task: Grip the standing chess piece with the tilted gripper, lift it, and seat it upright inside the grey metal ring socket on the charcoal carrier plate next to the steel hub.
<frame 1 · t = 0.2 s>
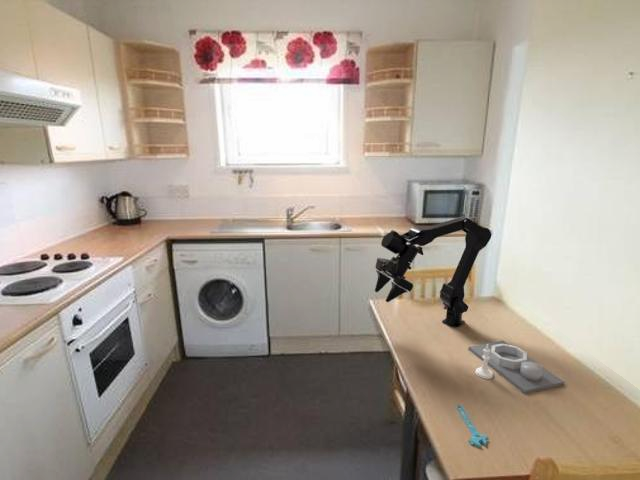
hand: (381, 296, 132), 15 cm above the table, tool tilted 35°, fingers open, 9 cm apart
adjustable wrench: (469, 426, 91), on the table
chess piece: (484, 374, 111), on the table
snack package: (448, 305, 161), on the table
carrier plate: (507, 362, 117), on the table
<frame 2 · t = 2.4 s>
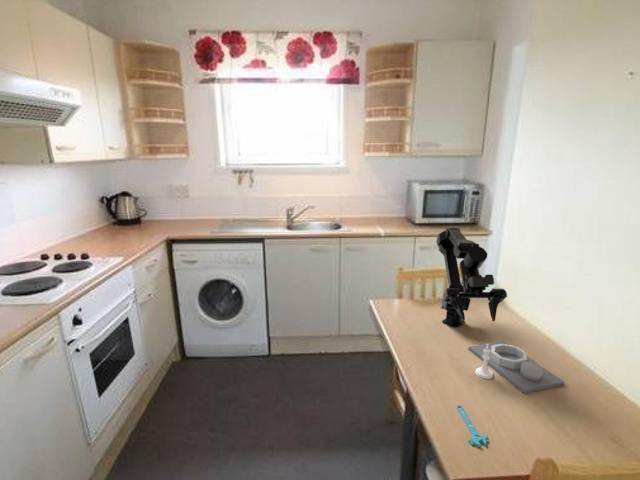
hand: (478, 320, 116), 14 cm above the table, tool tilted 45°, fingers open, 9 cm apart
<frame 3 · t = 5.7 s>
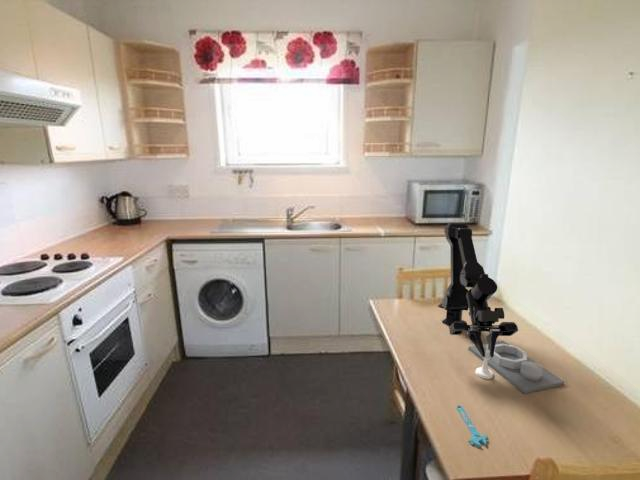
hand: (488, 357, 108), 7 cm above the table, tool tilted 45°, fingers closed on chess piece
chess piece: (484, 374, 111), on the table, touching gripper
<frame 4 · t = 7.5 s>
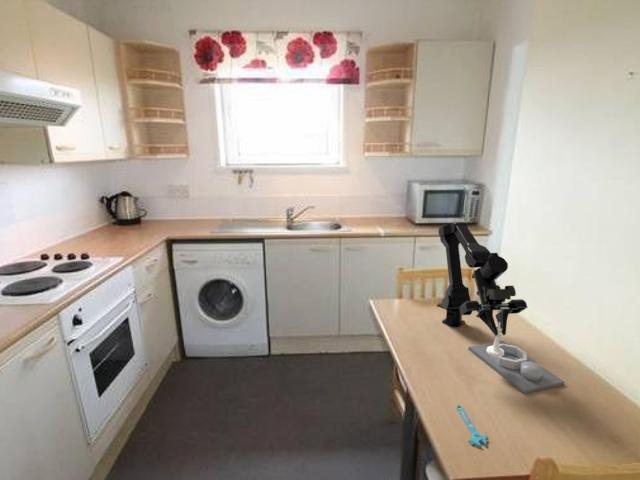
hand: (500, 335, 109), 13 cm above the table, tool tilted 45°, fingers closed on chess piece
chess piece: (495, 352, 112), point 6 cm above the table, touching gripper
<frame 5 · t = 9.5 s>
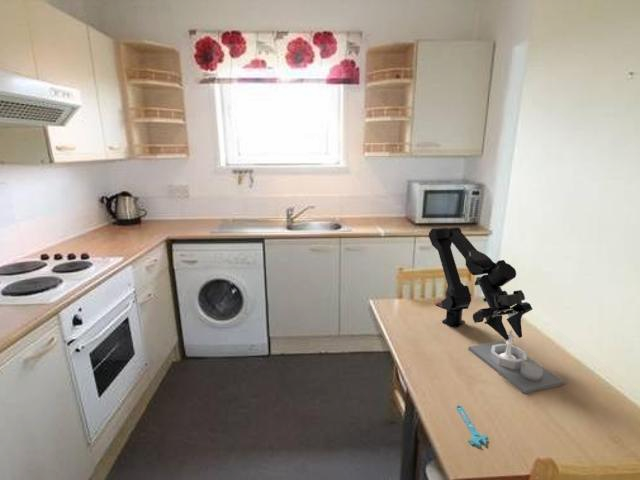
hand: (514, 338, 114), 9 cm above the table, tool tilted 45°, fingers open, 5 cm apart
chess piece: (507, 359, 117), point 1 cm above the table, touching carrier plate
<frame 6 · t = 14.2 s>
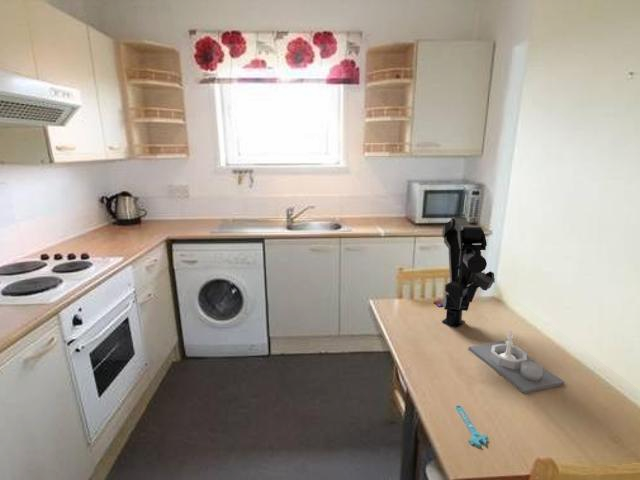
hand: (464, 305, 128), 13 cm above the table, tool pointing down, fingers open, 9 cm apart
at the end: chess piece 0.2 cm off-centre on the carrier plate, point 0.8 cm above the carrier plate's base; chess piece tilted 0°; the gripper is holding nothing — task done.
